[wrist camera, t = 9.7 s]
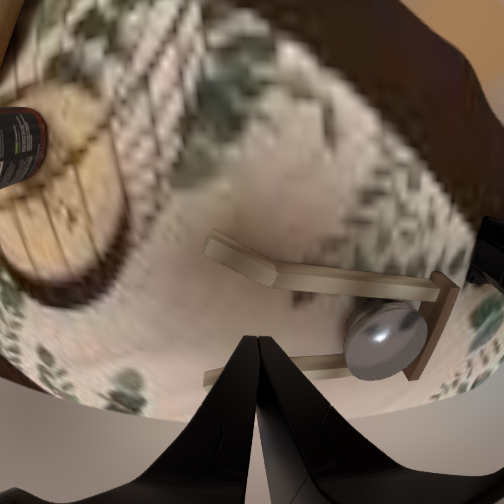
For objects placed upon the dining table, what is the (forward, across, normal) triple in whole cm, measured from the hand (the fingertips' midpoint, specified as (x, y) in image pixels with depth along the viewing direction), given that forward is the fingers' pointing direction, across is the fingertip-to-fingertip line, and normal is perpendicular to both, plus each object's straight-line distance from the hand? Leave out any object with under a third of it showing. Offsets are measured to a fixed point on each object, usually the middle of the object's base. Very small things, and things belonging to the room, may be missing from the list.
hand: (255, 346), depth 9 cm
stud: (+12, -11, +7) cm, 18 cm away
